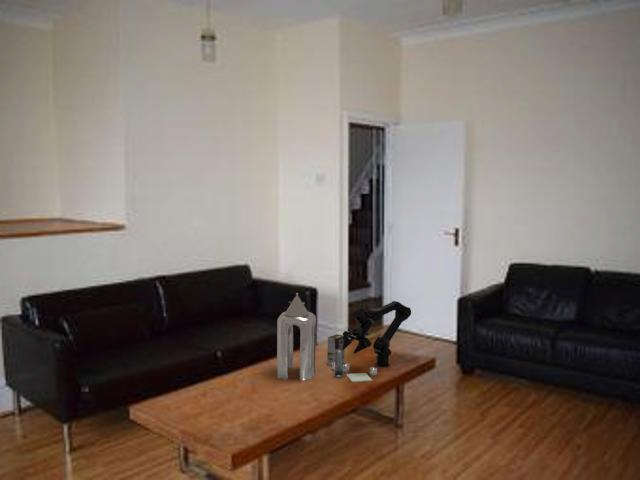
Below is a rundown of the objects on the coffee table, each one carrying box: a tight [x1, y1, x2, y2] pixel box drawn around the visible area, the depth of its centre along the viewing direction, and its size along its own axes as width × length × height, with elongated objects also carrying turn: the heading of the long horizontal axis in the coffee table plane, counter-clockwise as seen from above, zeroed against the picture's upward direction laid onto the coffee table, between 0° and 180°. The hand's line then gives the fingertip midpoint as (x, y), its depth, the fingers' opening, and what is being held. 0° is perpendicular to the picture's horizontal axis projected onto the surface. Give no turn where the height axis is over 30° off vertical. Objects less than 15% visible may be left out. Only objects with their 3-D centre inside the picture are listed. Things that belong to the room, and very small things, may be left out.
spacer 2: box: [343, 362, 351, 373], centre depth 321 cm, size 4×4×4 cm
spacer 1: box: [331, 361, 335, 372], centre depth 324 cm, size 4×4×4 cm
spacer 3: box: [369, 366, 378, 377], centre depth 316 cm, size 4×4×4 cm
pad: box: [346, 372, 373, 383], centre depth 311 cm, size 11×11×1 cm
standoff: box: [332, 349, 345, 379], centre depth 313 cm, size 6×6×14 cm
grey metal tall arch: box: [276, 292, 317, 381], centre depth 314 cm, size 20×20×45 cm
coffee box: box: [326, 333, 346, 366], centre depth 334 cm, size 9×6×16 cm
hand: (348, 351), depth 316 cm, fingers open, 9 cm apart
